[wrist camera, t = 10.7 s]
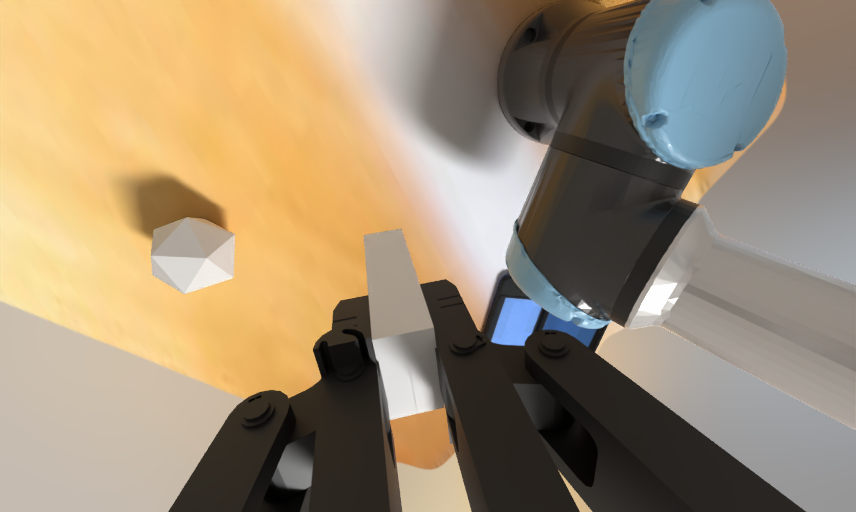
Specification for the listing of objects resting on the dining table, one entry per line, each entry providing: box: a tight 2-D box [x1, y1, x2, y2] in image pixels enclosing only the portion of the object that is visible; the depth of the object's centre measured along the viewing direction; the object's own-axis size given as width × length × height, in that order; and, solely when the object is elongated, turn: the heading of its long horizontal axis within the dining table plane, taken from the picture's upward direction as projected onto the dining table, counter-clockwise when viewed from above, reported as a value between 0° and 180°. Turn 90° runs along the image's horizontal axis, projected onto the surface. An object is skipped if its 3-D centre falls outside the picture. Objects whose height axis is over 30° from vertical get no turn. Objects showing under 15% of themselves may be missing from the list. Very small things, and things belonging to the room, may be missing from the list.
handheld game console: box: [484, 275, 608, 352], centre depth 56 cm, size 16×13×9 cm
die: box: [151, 217, 235, 294], centre depth 42 cm, size 8×9×10 cm
